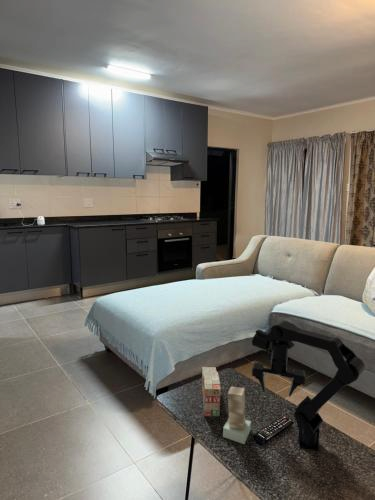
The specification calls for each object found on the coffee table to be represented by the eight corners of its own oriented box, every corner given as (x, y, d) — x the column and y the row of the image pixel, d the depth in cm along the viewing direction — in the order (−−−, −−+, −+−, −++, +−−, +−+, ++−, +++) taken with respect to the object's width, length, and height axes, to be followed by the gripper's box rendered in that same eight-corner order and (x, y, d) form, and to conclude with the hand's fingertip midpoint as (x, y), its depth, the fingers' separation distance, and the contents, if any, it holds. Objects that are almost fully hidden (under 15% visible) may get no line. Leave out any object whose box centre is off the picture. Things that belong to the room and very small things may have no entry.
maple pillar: (245, 421, 127) (244, 388, 125) (243, 429, 122) (242, 395, 120) (232, 419, 128) (230, 386, 127) (229, 427, 123) (228, 393, 122)
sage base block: (250, 430, 128) (251, 421, 127) (244, 445, 121) (244, 435, 120) (230, 424, 131) (230, 414, 131) (222, 437, 124) (223, 427, 124)
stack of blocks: (201, 385, 156) (202, 360, 154) (215, 385, 156) (216, 360, 154) (203, 416, 135) (204, 388, 133) (219, 417, 135) (221, 388, 133)
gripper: (305, 349, 131) (302, 386, 134) (255, 342, 136) (253, 378, 139) (306, 363, 120) (303, 403, 123) (252, 355, 125) (250, 394, 128)
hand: (276, 393), depth 129 cm, fingers open, 9 cm apart
